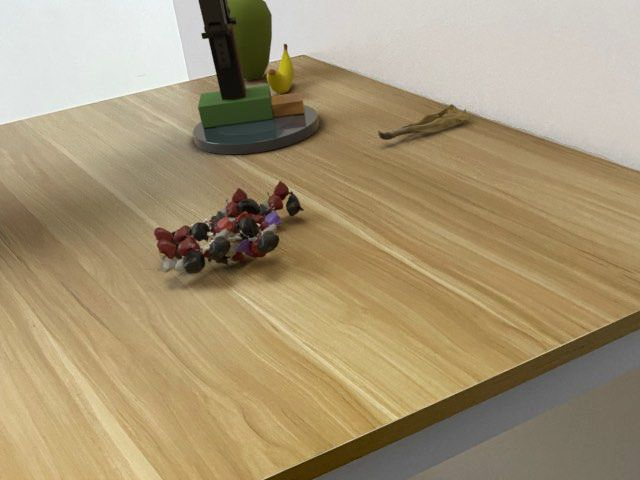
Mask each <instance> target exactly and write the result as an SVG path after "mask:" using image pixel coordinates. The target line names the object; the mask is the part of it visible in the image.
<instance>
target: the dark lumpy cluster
mask: <svg viewBox="0 0 640 480" xmlns="http://www.w3.org/2000/svg"><path fill="white" fill-rule="evenodd" d="M266 194H267V197H266V198H264V199H263V200H262V201H261V203H258V202H257V201H256V200H254V199H252V198H248V194H247V193H246V191H244V190H243V189H242V188H240V187H238V188H236V191H235V192H234V193H233V194H232V196H231V201H228V198H225V199H224V201H225V202H226V203H225V205H224V206H222V207H220V208H221V209H220V210H217V212H216V215H212V216H211V217H210V218H207V217H205V218H204V220H203V221H199V222H195V223H191V224H190V225H187V224H185V225H182V226H180V228H178V229H176V230H174V231H173V232H172V231H169V230H168V229H166V228H164V227H161V226H157V227H155V228H154V231H153V235H154V237H155V240H156V241H157V243H156V248H157V250H158V254H159V255H158V256H159V259H161V260H162V261H163V262H162V266H161V269H162V272H163V273H164V274H167V273H169V272H170V271H172V270H173V269H175V271H177V272H181V273H186V274H189V275H190V274H191V275H192V274H198V273H200V272H202V271H203V270H204V269H205V267H206V259H207V261H208V263H210V264H211V263H212V261H214V262H215V263H216V264H219V265H220V264H223V265H227V266H229V262H232V261H233V262H239V263H240V262H244V261H246V258H245V255H246V256H248V257H249V258H252V259H258V258H261V259H262V258H264V257H266V256H267V254H268V253H271V252H273V251H275V249H276V248H277V247H278V245H279V243H280V236H279V234H276V233H277V229H278V227H277V226H279V227H280V226H282V224H283V223H282V218H281V216H280V215H279V214H278V213H277V211H281V210H283V209H284V203H283V201H284V200H286V198H287V196H288V195H289V197H288V199H287V200H286V203H285V209H286V212H287V213H288V215H289V217H290V218H291V217H294V216H296V215H298V214H299V212H303V211H304V208H303V207H302V206H301V203H300V200H299V198H298V197H297V195H296V194H295V193H294V192H293V191H292V190H291V191H290V190H289V187H288V185H287V184H286V183H284V181H281V180H279V181H278V183H277V184H276V185H275V186H274V190H273V194H271V195H270V192H269V191H268V190H267V191H266ZM230 234H233V235H234V236H233V237H231V236H230ZM210 237H211V238H210ZM209 239H210V241H209ZM203 240H204V242H206V243H207V245H205V246H201V243H200V242H202V241H203ZM230 241H232V243H233V244H234V245H232V244H231V242H230ZM236 241H241V242H240V243H238V244H235V242H236ZM243 253H244V254H245V255H244V254H243ZM174 259H177V261H175V260H174Z"/></svg>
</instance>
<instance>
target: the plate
mask: <svg viewBox="0 0 640 480" xmlns="http://www.w3.org/2000/svg"><path fill="white" fill-rule="evenodd" d="M319 121H320V120H319V115H318V112H317V110H316V109H314V108H313V107H311V106H309V105H305V104H304V113H303V114H295V115H287V116H280V117H273V119H267V120H260V121H252V122H245V123H238V124H230V125H223V126H216V127H208V128H203V126H202V122H201V121H200V122H198V123H197V124H196V125H195V126H194V127H193V129H192V137H193V139H194V143H195V146H197V148H198V149H200V150H202V151H205V152H207V153H212V154H220V155H248V154H257V153H264V152H268V151H274V150H278V149H282V148H285V147H288V146H291V145H294V144H297V143H299V142H302V141H304V140H305V139H307V138H309V137H311V136H312V135H313V134H314V133H316V132H317V131H318V129H319V126H320V122H319Z"/></svg>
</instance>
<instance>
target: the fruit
mask: <svg viewBox="0 0 640 480" xmlns="http://www.w3.org/2000/svg"><path fill="white" fill-rule="evenodd" d="M293 80H294V66H293V62H292V59H291V56H290V55H289V51H288V44H287V43H283V53H282V56H281V59H280V62H279V65H278V69H277V70H276V69H273V68H270V69H269V70H268V71H267V73H266V81H267V83H268V85H269V86H270V90H272V91H273V92H275V93H276V94H279V95H283V94H287V92H288V91H290V89H291V88H292V84H293Z"/></svg>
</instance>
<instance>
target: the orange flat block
mask: <svg viewBox="0 0 640 480" xmlns="http://www.w3.org/2000/svg"><path fill="white" fill-rule="evenodd" d="M304 105H305V103H304V98H303V92H301V91H300V92H294V93H293V92H292V93H283V94H277V95H271V107H272V113H273V117H280V116H287V115H295V114H303V113H304Z"/></svg>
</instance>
